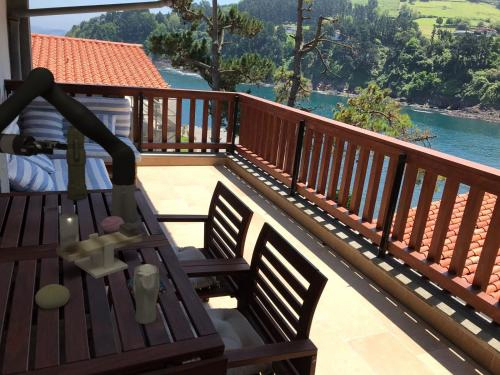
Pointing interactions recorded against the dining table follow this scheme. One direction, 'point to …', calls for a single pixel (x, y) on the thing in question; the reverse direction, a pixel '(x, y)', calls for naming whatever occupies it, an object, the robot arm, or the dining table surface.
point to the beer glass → (146, 292)
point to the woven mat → (130, 286)
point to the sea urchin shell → (52, 296)
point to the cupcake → (111, 224)
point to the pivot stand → (101, 261)
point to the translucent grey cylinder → (69, 232)
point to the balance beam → (104, 242)
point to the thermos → (76, 165)
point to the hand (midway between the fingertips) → (60, 149)
